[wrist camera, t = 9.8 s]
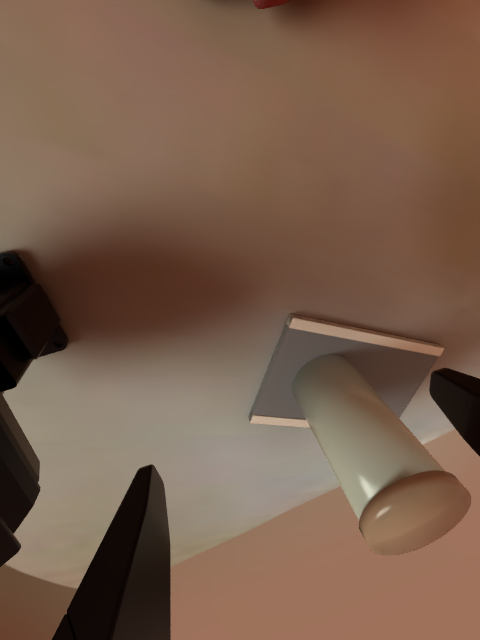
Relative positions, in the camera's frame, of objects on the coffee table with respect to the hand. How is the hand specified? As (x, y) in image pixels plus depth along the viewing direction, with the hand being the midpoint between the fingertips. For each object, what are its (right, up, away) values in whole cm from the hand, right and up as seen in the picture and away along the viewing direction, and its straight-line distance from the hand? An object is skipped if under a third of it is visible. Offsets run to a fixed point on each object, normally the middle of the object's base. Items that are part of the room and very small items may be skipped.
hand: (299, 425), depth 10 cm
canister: (+5, -2, +16) cm, 17 cm away
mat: (+7, -2, +18) cm, 19 cm away
